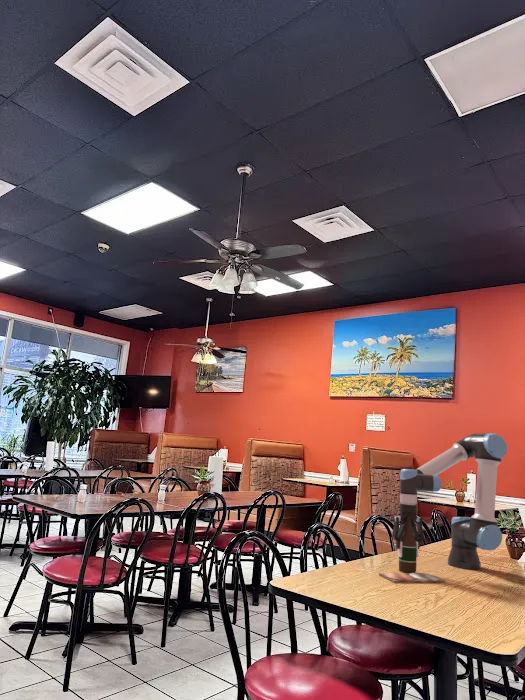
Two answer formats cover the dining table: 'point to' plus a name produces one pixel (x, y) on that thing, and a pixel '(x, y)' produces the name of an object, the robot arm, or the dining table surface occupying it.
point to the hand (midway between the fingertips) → (407, 556)
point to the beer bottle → (408, 550)
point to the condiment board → (411, 578)
